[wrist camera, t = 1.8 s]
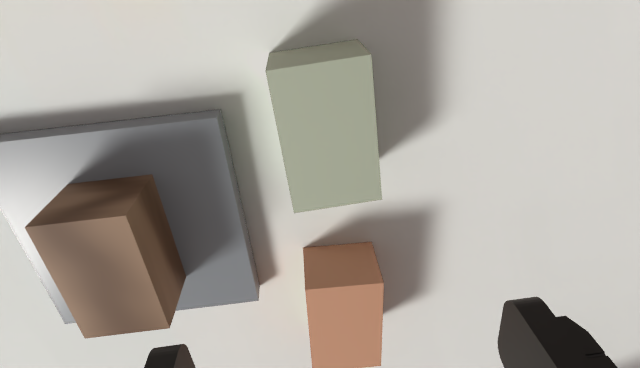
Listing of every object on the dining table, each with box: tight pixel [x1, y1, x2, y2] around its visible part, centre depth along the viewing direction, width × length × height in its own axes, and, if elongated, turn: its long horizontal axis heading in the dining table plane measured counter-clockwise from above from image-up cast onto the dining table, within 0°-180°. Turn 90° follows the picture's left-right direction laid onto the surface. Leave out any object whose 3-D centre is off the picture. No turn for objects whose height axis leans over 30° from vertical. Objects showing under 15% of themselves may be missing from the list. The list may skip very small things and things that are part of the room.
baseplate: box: [0, 109, 260, 324], centre depth 27 cm, size 14×14×2 cm
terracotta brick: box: [303, 242, 384, 368], centre depth 30 cm, size 5×8×4 cm, turn 3°
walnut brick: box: [25, 174, 186, 338], centre depth 24 cm, size 5×8×4 cm, turn 5°
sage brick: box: [266, 39, 382, 213], centre depth 23 cm, size 5×8×4 cm, turn 8°
